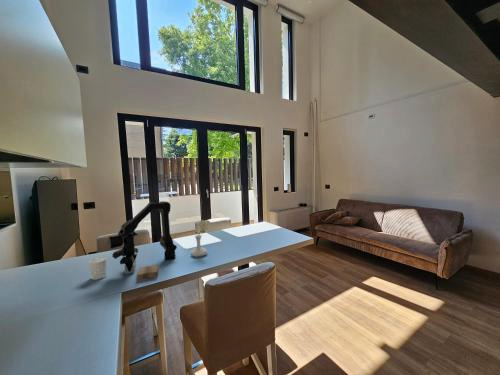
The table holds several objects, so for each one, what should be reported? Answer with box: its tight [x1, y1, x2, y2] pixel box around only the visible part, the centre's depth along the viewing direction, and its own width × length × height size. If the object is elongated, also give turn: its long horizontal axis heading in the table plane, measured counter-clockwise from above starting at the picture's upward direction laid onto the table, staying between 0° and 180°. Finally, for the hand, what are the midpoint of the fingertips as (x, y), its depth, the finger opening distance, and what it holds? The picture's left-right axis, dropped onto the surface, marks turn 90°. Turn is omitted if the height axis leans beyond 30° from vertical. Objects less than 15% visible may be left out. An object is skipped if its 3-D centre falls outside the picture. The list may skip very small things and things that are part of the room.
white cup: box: [88, 256, 107, 281], centre depth 120 cm, size 8×8×10 cm
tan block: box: [136, 264, 159, 282], centre depth 120 cm, size 10×10×4 cm
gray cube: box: [124, 260, 137, 275], centre depth 126 cm, size 5×5×5 cm
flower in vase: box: [190, 219, 209, 258], centre depth 149 cm, size 13×11×25 cm
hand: (130, 269), depth 126 cm, fingers closed on gray cube, 5 cm apart
